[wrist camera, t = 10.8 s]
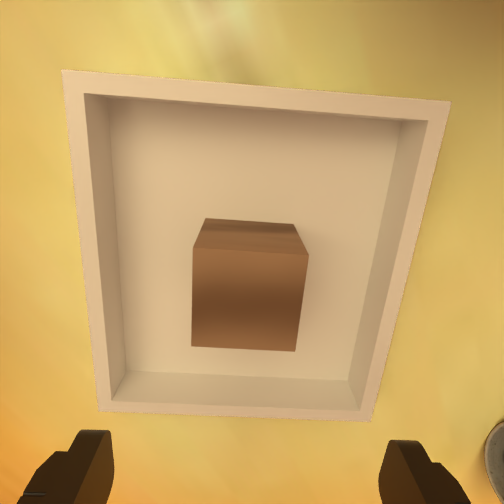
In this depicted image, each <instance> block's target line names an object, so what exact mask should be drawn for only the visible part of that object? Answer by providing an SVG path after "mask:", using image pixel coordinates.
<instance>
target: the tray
mask: <svg viewBox="0 0 504 504" xmlns="http://www.w3.org/2000/svg"><path fill="white" fill-rule="evenodd" d="M61 73H62V82H63V92H64V101H65V110H66V119H67V128H68V137H69V146H70V155H71V165H72V174H73V183H74V192H75V201H76V210H77V219H78V228H79V238H80V247H81V256H82V265H83V274H84V283H85V292H86V301H87V311H88V320H89V329H90V338H91V347H92V356H93V365H94V374H95V384H96V393H97V402H98V411H104V412H129V413H155V414H180V415H205V416H231V417H256V418H281V419H307V420H332V421H357V422H371V418H372V414H373V410H374V406H375V403H376V399H377V395H378V391H379V387H380V383H381V379H382V375H383V371H384V367H385V363H386V359H387V355H388V351H389V347H390V343H391V340H392V336H393V332H394V328H395V324H396V320H397V316H398V312H399V308H400V304H401V300H402V296H403V292H404V288H405V284H406V280H407V276H408V273H409V269H410V265H411V261H412V257H413V253H414V249H415V245H416V241H417V237H418V233H419V229H420V225H421V221H422V217H423V213H424V210H425V206H426V202H427V198H428V194H429V190H430V186H431V182H432V178H433V174H434V170H435V166H436V162H437V158H438V154H439V150H440V147H441V143H442V139H443V135H444V131H445V127H446V123H447V119H448V115H449V111H450V107H451V103H452V101H441V100H428V99H416V98H404V97H392V96H380V95H368V94H356V93H344V92H332V91H320V90H308V89H295V88H283V87H271V86H259V85H247V84H235V83H223V82H211V81H199V80H187V79H175V78H162V77H150V76H138V75H126V74H114V73H102V72H90V71H78V70H66V69H61ZM205 218H214V219H228V220H243V221H257V222H272V223H287V224H294V226H295V228H296V230H297V232H298V234H299V236H300V238H301V240H302V242H303V244H304V246H305V248H306V250H307V252H308V254H309V260H308V267H307V273H306V280H305V287H304V294H303V301H302V308H301V315H300V322H299V329H298V336H297V343H296V350H295V352H290V351H271V350H251V349H232V348H212V347H193V346H191V322H192V261H193V246H194V244H195V241H196V239H197V237H198V234H199V232H200V230H201V227H202V225H203V223H204V220H205Z"/></svg>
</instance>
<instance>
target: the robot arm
mask: <svg viewBox="0 0 504 504" xmlns="http://www.w3.org/2000/svg"><path fill="white" fill-rule="evenodd" d="M113 478H114V459H113V450H112V440H111V433H110V431H109V430H81V431H79V433H78V434H77V435H76V437H75V439H74V441H73V443H72V445H71V447H70V448H69V450H68V452H64V451H56V452H54V453H53V454H52V455H51V456H50V457H49V458H48V459H47V460H46V461H45V462H44V463H43V464H42V465H41V466H40V467H39V468H38V469H37V470H36V472H35V473H34V475H33V477H32V478H31V480H30V482H29V484H28V485H27V487H26V489H25V490H24V493H23V496H21V497H20V499H19V500H18V502H17V504H106V503H107V500H108V497H109V495H110V491H111V488H112V484H113ZM378 483H379V492H380V496H381V500H382V503H383V504H471V502H470V500H469V499H468V497H467V495H466V494H465V492H464V490H463V489H462V487H461V485H460V484H459V482H458V481H457V480H456V479H455V478H454V477H453V476H452V475H451V474H450V473H449V472H448V471H447V470H446V468H445V467H444V466H443V465H442V464H441V463H432V462H431V460H430V458H429V457H428V455H427V453H426V451H425V449H424V448H423V446H422V445H421V444H420V443H419V442H418V441H411V440H390V441H389V443H388V446H387V449H386V453H385V456H384V459H383V463H382V466H381V470H380V473H379V480H378Z"/></svg>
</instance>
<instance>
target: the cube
mask: <svg viewBox="0 0 504 504" xmlns="http://www.w3.org/2000/svg"><path fill="white" fill-rule="evenodd" d="M308 260H309V254H308V252H307V250H306V248H305V246H304V244H303V242H302V240H301V238H300V236H299V234H298V232H297V230H296V228H295V226H294V224H287V223H272V222H257V221H243V220H228V219H214V218H205V220H204V223H203V225H202V227H201V230H200V232H199V234H198V237H197V239H196V241H195V244H194V246H193V261H192V322H191V346H193V347H212V348H232V349H251V350H271V351H290V352H295V350H296V343H297V336H298V329H299V322H300V315H301V308H302V301H303V294H304V287H305V280H306V273H307V267H308Z"/></svg>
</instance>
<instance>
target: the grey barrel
mask: <svg viewBox="0 0 504 504" xmlns="http://www.w3.org/2000/svg"><path fill="white" fill-rule="evenodd" d="M484 461H485V467H486V471H487V475H488V478H489V480H490V483H491V485H492V487H493V489H494V491H495V493H496V495H497V497H498V498H499V500H500V501H501V502H502V504H504V421H503V422H502V423H500V424H498V425H497V426H496V427H495V428H494V429H493V430H492V431H491V432H490V434H489V436H488V438H487V440H486V444H485V450H484Z"/></svg>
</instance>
